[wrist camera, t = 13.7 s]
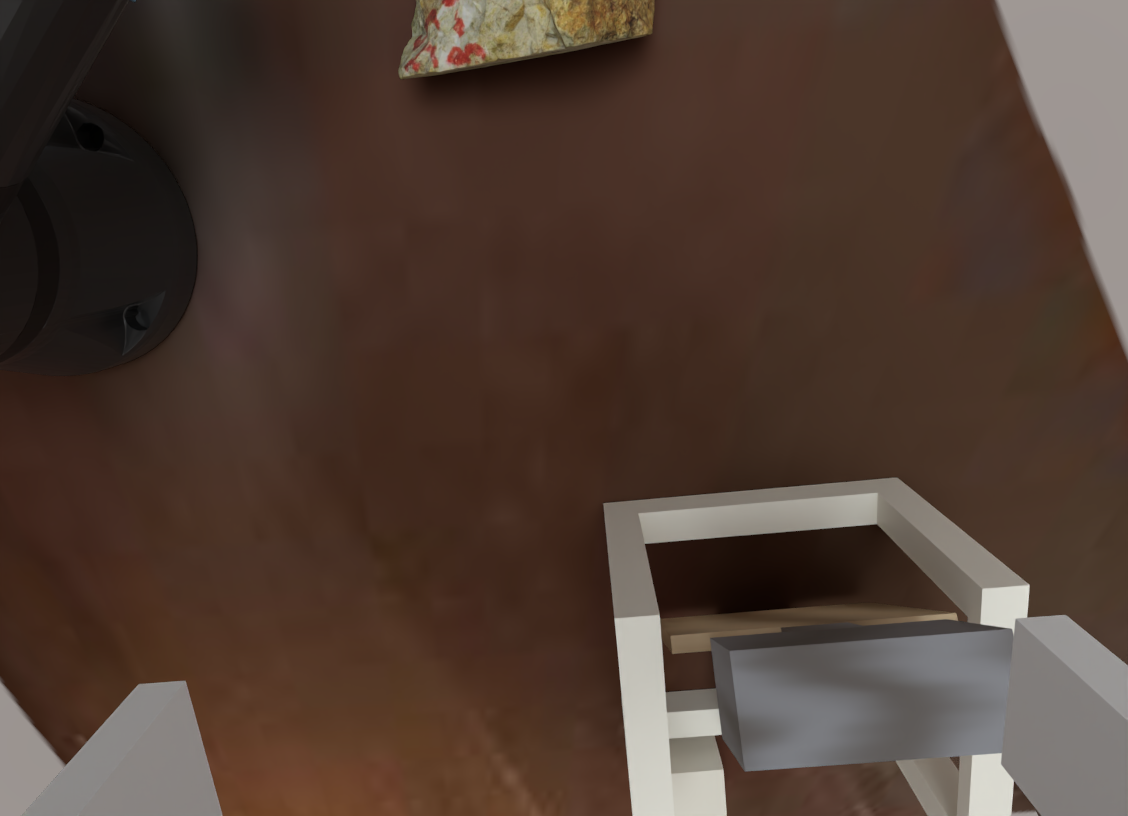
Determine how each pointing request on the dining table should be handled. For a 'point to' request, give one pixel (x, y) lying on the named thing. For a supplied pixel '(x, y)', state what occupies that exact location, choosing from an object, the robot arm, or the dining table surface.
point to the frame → (940, 548)
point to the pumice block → (697, 777)
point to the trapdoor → (851, 683)
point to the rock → (514, 31)
